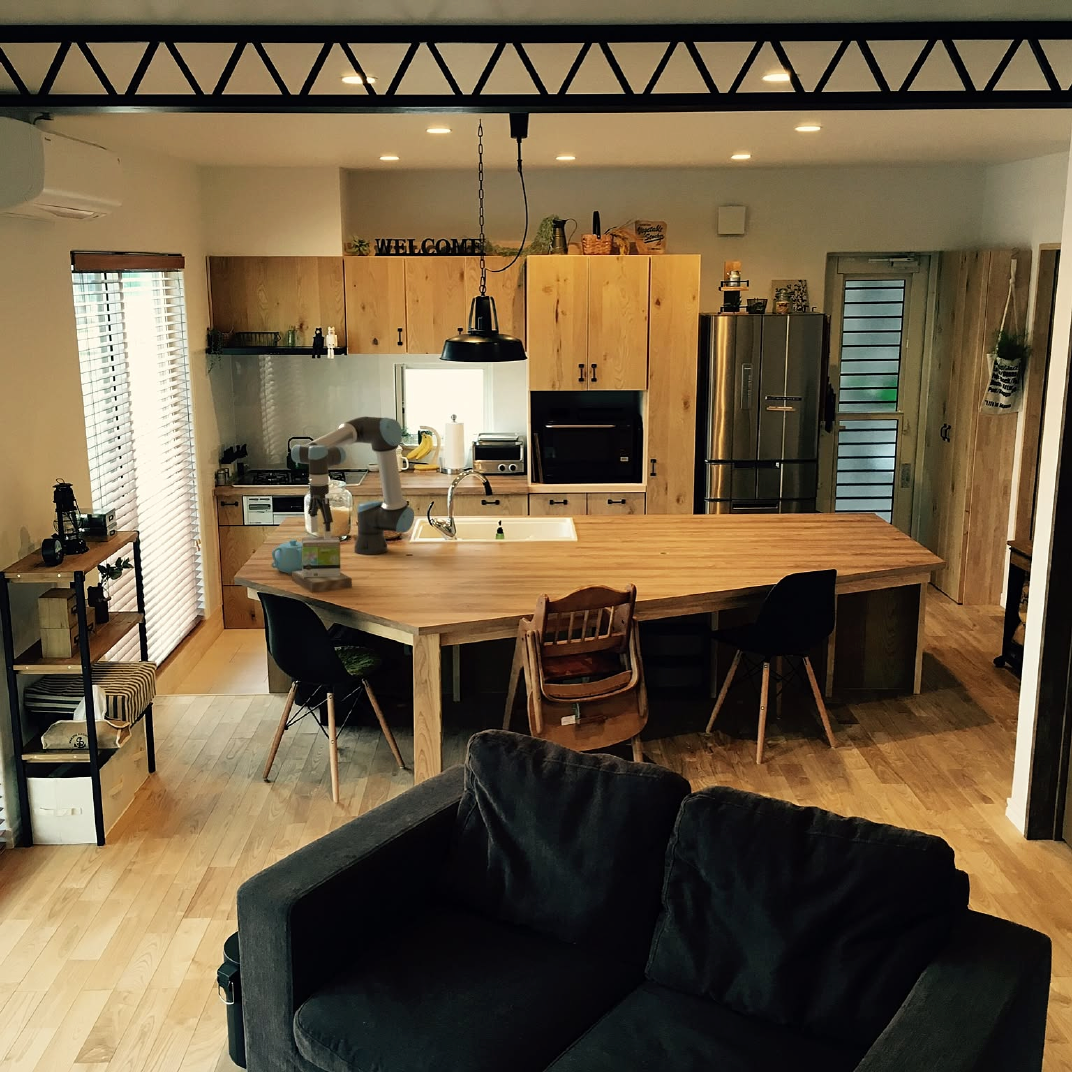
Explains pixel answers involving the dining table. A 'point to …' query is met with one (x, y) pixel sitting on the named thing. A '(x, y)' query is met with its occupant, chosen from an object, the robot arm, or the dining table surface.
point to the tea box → (321, 557)
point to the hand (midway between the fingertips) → (321, 535)
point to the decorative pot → (288, 557)
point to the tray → (322, 582)
